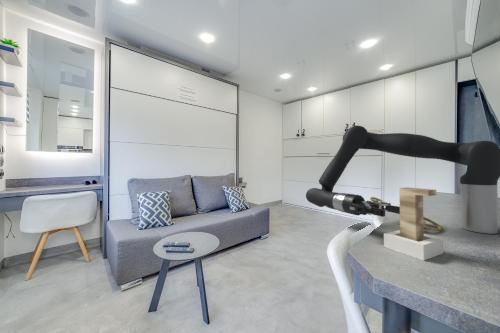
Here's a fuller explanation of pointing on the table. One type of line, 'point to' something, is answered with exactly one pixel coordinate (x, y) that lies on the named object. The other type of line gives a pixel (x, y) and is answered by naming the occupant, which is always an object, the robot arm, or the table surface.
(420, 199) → the wooden l-shaped block
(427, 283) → the table surface
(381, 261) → the table surface
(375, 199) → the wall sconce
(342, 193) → the robot arm
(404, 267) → the table surface
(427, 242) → the square well
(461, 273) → the table surface
